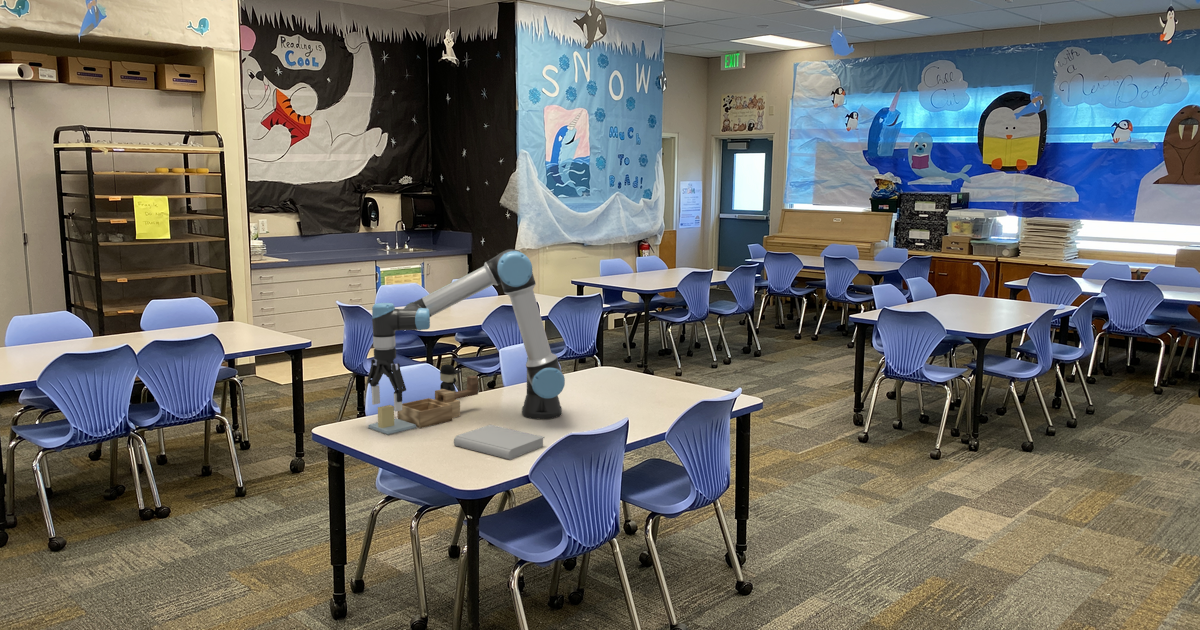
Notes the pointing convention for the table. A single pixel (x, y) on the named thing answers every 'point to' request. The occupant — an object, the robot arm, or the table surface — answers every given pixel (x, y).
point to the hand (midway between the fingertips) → (387, 407)
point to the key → (468, 388)
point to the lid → (389, 421)
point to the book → (499, 441)
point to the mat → (392, 433)
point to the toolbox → (431, 410)
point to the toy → (448, 377)
